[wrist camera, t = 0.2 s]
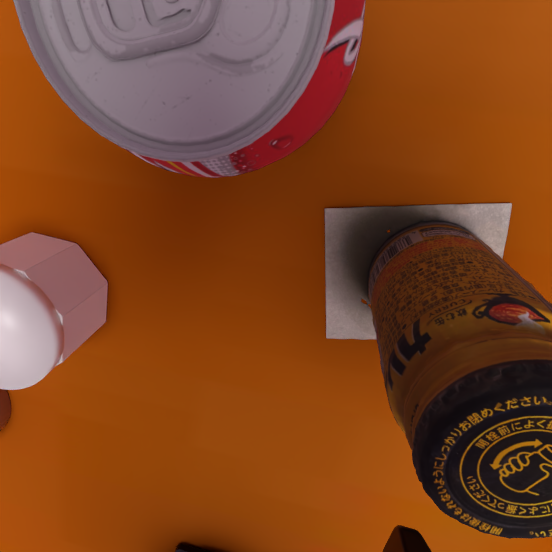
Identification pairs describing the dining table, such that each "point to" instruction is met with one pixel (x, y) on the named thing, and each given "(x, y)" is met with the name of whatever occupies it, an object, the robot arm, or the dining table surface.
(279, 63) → the soda can
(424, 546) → the robot arm
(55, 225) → the dining table surface
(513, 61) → the dining table surface
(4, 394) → the spice pot
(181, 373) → the dining table surface
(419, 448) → the condiment
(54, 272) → the cap
